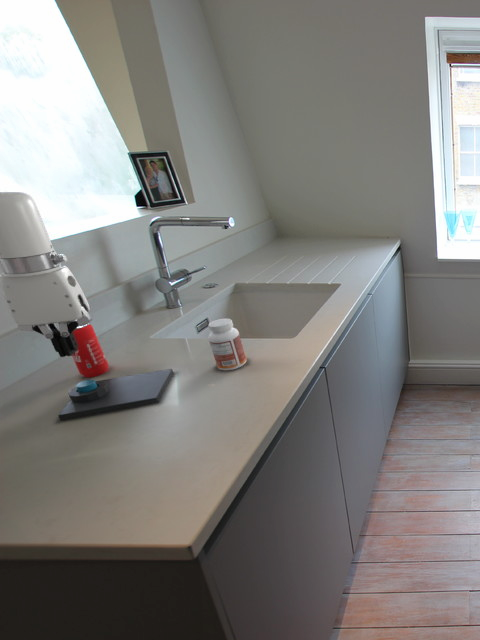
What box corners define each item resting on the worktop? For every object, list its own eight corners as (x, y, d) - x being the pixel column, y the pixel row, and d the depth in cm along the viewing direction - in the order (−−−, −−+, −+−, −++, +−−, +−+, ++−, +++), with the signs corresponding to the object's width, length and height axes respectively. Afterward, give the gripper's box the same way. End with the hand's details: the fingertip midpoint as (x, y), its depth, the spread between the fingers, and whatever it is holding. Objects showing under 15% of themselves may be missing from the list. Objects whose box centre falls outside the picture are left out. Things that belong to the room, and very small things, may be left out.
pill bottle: (237, 356, 109) (225, 315, 105) (252, 362, 106) (241, 320, 102) (212, 367, 104) (198, 324, 100) (227, 373, 102) (214, 330, 97)
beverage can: (108, 374, 102) (87, 327, 97) (79, 380, 99) (56, 332, 94) (112, 365, 106) (92, 319, 101) (84, 370, 103) (63, 323, 98)
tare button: (76, 395, 89) (73, 388, 88) (82, 387, 92) (79, 381, 91) (94, 391, 90) (91, 385, 89) (100, 384, 93) (97, 378, 92)
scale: (60, 421, 85) (54, 408, 84) (88, 388, 96) (82, 376, 95) (158, 403, 91) (153, 390, 90) (174, 373, 102) (170, 362, 101)
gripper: (90, 254, 86) (121, 340, 93) (-12, 261, 81) (30, 351, 88) (72, 264, 79) (108, 355, 87) (-39, 273, 74) (9, 368, 82)
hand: (69, 353), depth 88 cm, fingers closed
